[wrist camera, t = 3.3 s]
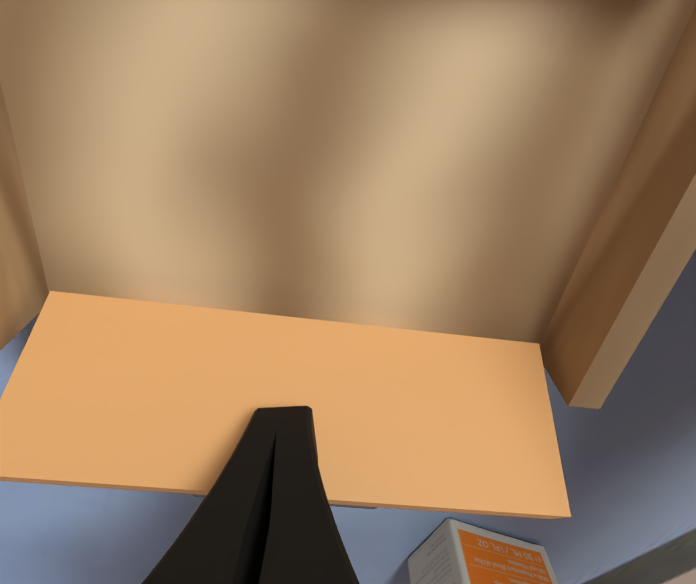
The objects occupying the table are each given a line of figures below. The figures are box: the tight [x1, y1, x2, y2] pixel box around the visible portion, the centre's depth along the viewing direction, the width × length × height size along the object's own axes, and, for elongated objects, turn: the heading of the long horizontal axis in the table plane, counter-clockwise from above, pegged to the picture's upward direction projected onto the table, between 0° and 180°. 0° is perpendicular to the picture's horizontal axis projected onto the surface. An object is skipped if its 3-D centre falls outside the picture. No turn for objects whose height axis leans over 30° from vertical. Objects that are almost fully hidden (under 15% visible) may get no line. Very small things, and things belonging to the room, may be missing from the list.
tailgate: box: [0, 291, 571, 519], centre depth 13 cm, size 15×2×5 cm
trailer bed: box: [0, 0, 696, 409], centre depth 11 cm, size 18×13×3 cm
